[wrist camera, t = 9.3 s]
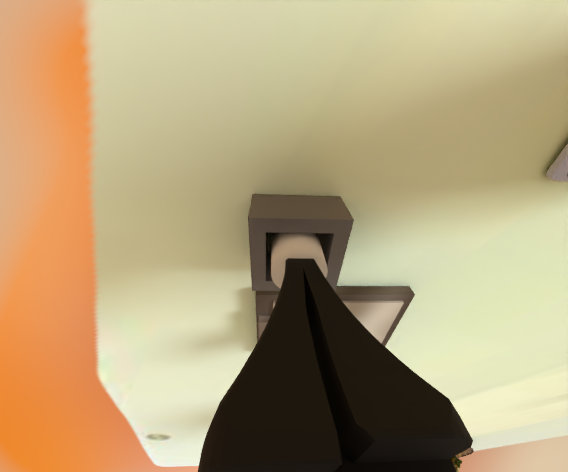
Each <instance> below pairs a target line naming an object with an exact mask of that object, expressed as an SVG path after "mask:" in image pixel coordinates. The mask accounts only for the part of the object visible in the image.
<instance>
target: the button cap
mask: <svg viewBox="0 0 568 472" xmlns="http://www.w3.org/2000/svg"><path fill="white" fill-rule="evenodd" d="M288 258H313V259H314V260H315V261H316V263H317V265H318V266H319V268H320V270H321V271H322V273H323V275H324V276H325V278H326V277H327V273H328V268H327V265H326V261H325V258H324V254H323V251H322V247H321V244H320V240H319V237H318V233H274V232H272V245H271V277H272V280H273V282H274V283H275V285H276V286H278V287H279V288H280V289H281V286H282V282H283V278H284V274H285V261H286V259H288Z"/></svg>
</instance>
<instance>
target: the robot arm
mask: <svg viewBox="0 0 568 472" xmlns="http://www.w3.org/2000/svg"><path fill="white" fill-rule="evenodd" d="M546 176H547V178H549V179H551V180H555V181H568V144H567V145H566V146H565V148H564V149H563V150H562V152H561V153H560V155H559V156H558V157H557V159H556V160H555V161H554V163H553V164H552V165H551V167H550V168H549V169H548V171H547V174H546ZM472 442H473V440H472V438H471V436H470V434H469V432H468V431H467V429H466V427H465V425H464V423H463V421H462V420H461V418H460V416H459V414H458V413H457V411H456V410H455V408H454V406H453V405H452V403H451V402H450V400H449V399H448V398H447V397H446V396H444V395H443V394H442V393H440V392H439V391H438V390H436V389H435V388H434V387H432V386H431V385H430V384H429V383H427V382H426V381H425V380H423V379H422V378H421V377H419V376H418V375H417V374H416V373H414V372H413V371H412V370H411V369H409V368H408V367H407V366H406V365H405V364H404V363H402V362H401V361H400V360H399V359H398V358H397V357H396V356H394V355H393V354H392V353H391V352H390V351H389V350H388V349H387V348H386V347H385V346H384V345H382V344H381V343H380V342H379V341H378V340H377V339H376V338H375V337H374V336H373V335H372V334H371V333H370V332H369V331H368V330H367V329H366V328H365V327H364V326H363V325H362V324H361V322H360V321H359V320H358V319H357V318H356V317H355V316H354V315H353V314H352V312H351V311H350V310H349V309H348V308H347V306H346V305H345V304H344V303H343V301H342V300H341V299H340V297H339V296H338V295H337V293H336V292H335V291H334V289H333V288H332V286H331V285H330V284H329V282H328V281H327V279H326V278H325V276H324V275H323V273H322V271H321V270H320V268H319V266H318V265H317V263H316V261H315V260H314V259H313V258H288V259H286V261H285V274H284V278H283V282H282V286H281V289H280V292H279V295H278V298H277V301H276V303H275V306H274V309H273V311H272V313H271V316H270V318H269V320H268V322H267V325H266V327H265V329H264V331H263V333H262V335H261V337H260V339H259V341H258V342H257V344H256V346H255V348H254V350H253V351H252V353H251V355H250V356H249V358H248V360H247V362H246V363H245V365H244V367H243V368H242V370H241V372H240V373H239V375H238V376H237V378H236V379H235V381H234V382H233V384H232V385H231V387H230V388H229V390H228V391H227V393H226V394H225V396H224V397H223V399H222V400H221V402H220V404H219V406H218V409H217V411H216V413H215V415H214V418H213V420H212V422H211V425H210V427H209V430H208V432H207V435H206V438H205V441H204V445H203V448H202V453H201V458H200V463H199V469H198V472H456V470H455V468H454V466H453V464H452V461H451V459H450V458H452V457H454V456H456V455H458V454H459V453H461V452H463V451H465V450H467V449H468V448H470V447H471V445H472Z"/></svg>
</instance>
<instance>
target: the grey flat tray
mask: <svg viewBox="0 0 568 472" xmlns="http://www.w3.org/2000/svg"><path fill="white" fill-rule="evenodd" d="M279 292H280V291H256V317H257V340H258V341H259V339H260V337H261V335H262V333H263V331H264V329H265V327H266V325H267V322H268V320H269V318H270V316H271V313H272V311H273V309H274V306H275V303H276V301H277V298H278V295H279ZM335 292H336V293H337V295H338V296H339V297H340V299H341V300H342V301H343V303H344V304H345V305H346V306H347V308H348V309H349V310H350V311H351V312H352V314H353V315H354V316H355V317H356V318H357V319H358V320H359V321H360V322H361V324H362V325H363V326H364V327H365V328H366V329H367V330H368V331H369V332H370V333H371V334H372V335H373V336H374V337H375V338H376V339H377V340H378V341H379V342H380V343H381V344H382V345H384V346H385V345H386V344H387V342H388V340H389V338H390V337H391V335H392V333H393V332H394V330H395V328H396V326H397V325H398V323H399V321H400V319H401V318H402V316H403V314H404V313H405V311H406V309H407V307H408V306H409V304H410V302H411V300H412V299H413V297H414V295H415V294H414V293H413V291H412V290H411V288H410V287H346V286H336V289H335Z"/></svg>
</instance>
